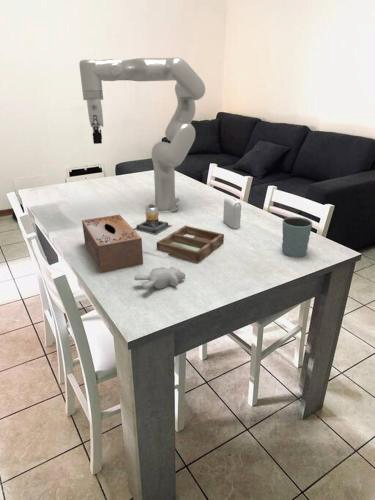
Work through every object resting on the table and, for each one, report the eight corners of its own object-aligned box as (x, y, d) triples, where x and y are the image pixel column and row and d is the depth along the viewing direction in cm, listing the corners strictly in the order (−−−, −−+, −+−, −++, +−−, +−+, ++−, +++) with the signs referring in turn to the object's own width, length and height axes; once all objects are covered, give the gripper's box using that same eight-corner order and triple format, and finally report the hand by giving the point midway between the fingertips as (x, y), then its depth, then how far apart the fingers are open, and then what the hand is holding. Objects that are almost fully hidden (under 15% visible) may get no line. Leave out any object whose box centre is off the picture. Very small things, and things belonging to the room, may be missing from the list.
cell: (151, 224, 156) (150, 202, 152) (161, 226, 154) (160, 204, 149) (144, 228, 152) (142, 205, 148) (153, 230, 150) (152, 207, 146)
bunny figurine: (190, 273, 111) (146, 281, 103) (188, 288, 113) (145, 297, 105) (174, 261, 118) (132, 268, 110) (173, 275, 120) (131, 283, 112)
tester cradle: (149, 222, 161) (149, 217, 160) (172, 227, 155) (172, 222, 154) (132, 231, 152) (132, 225, 150) (155, 237, 146) (155, 231, 145)
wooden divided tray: (185, 234, 149) (185, 225, 147) (223, 243, 141) (223, 234, 139) (157, 252, 134) (156, 242, 132) (198, 263, 125) (198, 253, 124)
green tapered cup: (303, 260, 127) (307, 228, 122) (275, 254, 132) (278, 223, 127) (310, 250, 135) (315, 219, 130) (284, 244, 140) (287, 214, 135)
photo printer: (221, 221, 162) (222, 194, 156) (230, 220, 163) (231, 193, 158) (232, 229, 153) (233, 201, 148) (241, 228, 154) (243, 200, 149)
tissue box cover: (85, 244, 140) (81, 220, 136) (121, 238, 146) (119, 214, 142) (101, 273, 120) (98, 246, 115) (143, 264, 125) (141, 238, 121)
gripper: (103, 96, 133) (107, 144, 141) (102, 94, 149) (107, 138, 156) (81, 97, 132) (87, 145, 139) (84, 94, 147) (89, 138, 155)
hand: (98, 141), depth 148 cm, fingers open, 9 cm apart
